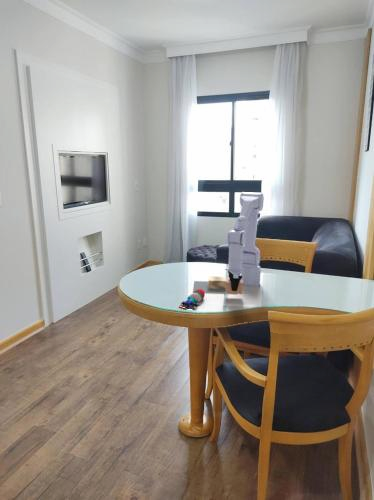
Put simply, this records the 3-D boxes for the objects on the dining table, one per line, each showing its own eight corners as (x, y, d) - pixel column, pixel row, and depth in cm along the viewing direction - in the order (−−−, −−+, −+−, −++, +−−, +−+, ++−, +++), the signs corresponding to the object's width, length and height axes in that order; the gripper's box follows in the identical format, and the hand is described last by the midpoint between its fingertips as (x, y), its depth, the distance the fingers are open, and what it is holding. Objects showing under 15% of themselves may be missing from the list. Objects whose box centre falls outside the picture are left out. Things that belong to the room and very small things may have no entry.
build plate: (235, 283, 176) (235, 282, 176) (237, 295, 160) (237, 294, 160) (194, 281, 177) (194, 281, 177) (192, 293, 161) (192, 292, 161)
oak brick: (225, 284, 172) (225, 276, 171) (225, 289, 166) (226, 281, 165) (208, 284, 172) (208, 276, 171) (208, 288, 167) (208, 280, 166)
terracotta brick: (241, 290, 157) (242, 279, 156) (242, 293, 154) (243, 282, 152) (225, 290, 158) (226, 279, 157) (225, 293, 154) (226, 282, 153)
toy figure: (193, 315, 144) (210, 297, 155) (191, 304, 142) (209, 287, 154) (177, 312, 147) (195, 295, 159) (175, 301, 146) (193, 285, 158)
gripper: (225, 253, 159) (224, 282, 163) (226, 263, 145) (225, 294, 149) (241, 254, 159) (239, 283, 162) (244, 263, 145) (242, 295, 148)
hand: (234, 288), depth 155 cm, fingers closed on terracotta brick, 4 cm apart
